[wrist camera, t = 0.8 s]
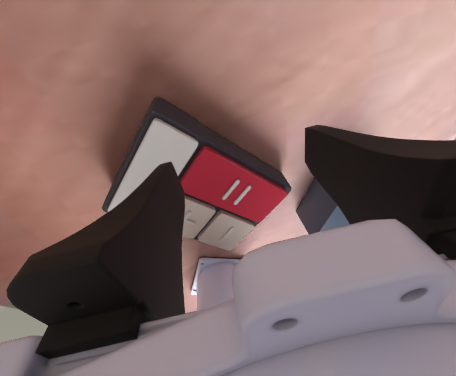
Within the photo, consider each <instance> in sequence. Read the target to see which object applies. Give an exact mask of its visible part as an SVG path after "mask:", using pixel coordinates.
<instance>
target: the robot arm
mask: <svg viewBox="0 0 456 376" xmlns="http://www.w3.org/2000/svg"><path fill="white" fill-rule="evenodd" d="M305 163H306V165H307V166H308V168H309V170H310V172H311V173H312V175H313V176H314V178H315V179H316V180H317V181H318V182H319V184H320V185H321V186H322V187H323V189H324V190H325V191H326V192H327V193H328V195H329V196H330V197H331V198H332V199H333V201H334V202H335V203H336V204H337V206H338V207H339V208H340V210H341V211H342V213H343V214H344V216H345V217H346V219H347V221H348V222H349V224H350V225H346V226H342V227H338V228H334V229H330V230H325V231H321V232H317V233H313V234H309V235H304V236H300V237H296V238H292V239H287V240H283V241H279V242H275V243H271V244H267V245H265V246H262V247H260V248H258V249H255V250H253V251H250V252H248V253H247V254H246V255H245V256H244V257H243V258H242V259H224V258H200V259H199V262H198V266H197V270H196V274H195V278H194V282H193V285H192V289H191V294H192V295H197V311H194V312H190V313H185V307H184V294H183V277H182V234H183V224H184V214H185V195H184V190H183V187H182V185H181V182H180V180H179V178H178V175H177V173H176V171H175V168H174V166H173V164H172V161H171V162H167V163H163V164H160V165H159V166H157V167H156V168H155V169H154V170H153V172H152V173H151V174H150V175H149V176H148V177H147V178H146V179H145V180H144V181H143V182H142V183H141V184H140V185H139V186H138V187H137V188H136V189H135V190H134V191H133V192H132V193H131V194H130V195H129V196H128V197H127V198H125V199H124V200H123V201H122V202H121V203H119V204H118V205H117V206H116V207H114V208H113V209H112V210H111V211H109V212H108V213H106V214H105V215H103V216H102V217H100V218H99V219H97V220H96V221H95V222H93V223H91V224H90V225H88V226H87V227H85V228H83V229H82V230H80V231H78V232H76V233H75V234H73V235H71V236H69V237H67V238H66V239H64V240H62V241H60V242H58V243H56V244H54V245H52V246H50V247H48V248H46V249H44V250H42V251H39V252H37V253H35V254H33V255H31V256H30V257H29V258H28V260H27V261H26V262H25V264H24V265H23V266H22V268H21V269H20V271H19V272H18V273H17V275H16V276H15V277H14V279H13V280H12V281H11V283H10V284H9V286H8V288H7V297H8V299H9V300H10V301H11V303H12V304H13V305H14V306H16V307H17V308H18V309H20V310H21V311H23V312H25V313H27V314H29V315H30V316H32V317H34V318H36V319H37V320H39V321H41V322H43V323H45V324H46V325H48V328H47V329H46V332H45V334H44V336H28V337H23V338H19V339H15V340H11V341H6V342H2V343H0V376H456V140H450V141H431V140H407V139H396V138H386V137H378V136H372V135H366V134H361V133H356V132H351V131H346V130H342V129H337V128H333V127H328V126H322V125H315V126H311V127H307V128H305Z"/></svg>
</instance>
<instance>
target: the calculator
mask: <svg viewBox="0 0 456 376" xmlns="http://www.w3.org/2000/svg"><path fill="white" fill-rule="evenodd" d="M171 161H172V164H173V166H174V168H175V171H176V173H177V175H178V178H179V180H180V182H181V185H182V187H183V190H184V195H185V214H184V224H183V234H182V236H183V237H186V238H189V239H195V240H198V241H199V242H202V243H206V244H209V245H212V246H216V247H219V248H222V249H225V250H229V251H231V250H233V249H234V248H235V247H236V246H237V245H238V244H239V243H240V242H241V241H242V240H243V239H244V238H245V237H246V236H247V235H248V234H249V233H250V232H251V231H252V230H253V229H254V228H255V226H256V225H257V224H258V223H259V222H261V221H262V220H263V219H264V218H265V217H266V216H267V215H268V214H269V213H270V212H271V211H272V210H273V209H274V208H275V207H276V206H277V205H278V204H279V203H280V202H281V201H282V200H283V199H284V198H285V197H286V196H287V195H288V193H289V192H290V191H291V186H290V185H289V183H288V182H287V180H286V179H285V177H284V176H283V174H282V173H281V172H280V171H278V170H277V169H275V168H273V167H272V166H270V165H268V164H267V163H265V162H263V161H262V160H260V159H258V158H257V157H255V156H253V155H252V154H250V153H248V152H247V151H245V150H243V149H242V148H240V147H238V146H237V145H235V144H233V143H232V142H230V141H228V140H227V139H225V138H223V137H222V136H220V135H218V134H217V133H215V132H213V131H212V130H210V129H208V128H207V127H205V126H204V125H203V124H201V123H200V122H199V121H198V120H197V119H195V118H194V117H192V116H190V115H189V114H187V113H186V112H184V111H182V110H181V109H179V108H177V107H176V106H174V105H172V104H171V103H169V102H167V101H166V100H164V99H162V98H160V97H156V98H154V100H153V102H152V104H151V106H150V108H149V110H148V112H147V114H146V116H145V118H144V120H143V122H142V124H141V126H140V128H139V130H138V132H137V134H136V136H135V139H134V141H133V143H132V145H131V147H130V149H129V151H128V153H127V155H126V157H125V159H124V161H123V163H122V165H121V167H120V169H119V171H118V173H117V175H116V177H115V180H114V182H113V184H112V186H111V188H110V190H109V193H108V195H107V197H106V199H105V202H104V204H103V207H102V209H103V211H105V212H107V213H108V212H109V211H111V210H112V209H113V208H114V207H116V206H117V205H118V204H119V203H121V202H122V201H123V200H124V199H125V198H127V197H128V196H129V195H130V194H131V193H132V192H133V191H134V190H135V189H136V188H137V187H138V186H139V185H140V184H141V183H142V182H143V181H144V180H145V179H146V178H147V177H148V176H149V175H150V174H151V173H152V172H153V170H154V169H155V168H156V167H157V166H159V165H160V164H163V163H167V162H171Z"/></svg>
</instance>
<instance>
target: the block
mask: <svg viewBox="0 0 456 376" xmlns="http://www.w3.org/2000/svg"><path fill="white" fill-rule="evenodd" d="M296 212H297V214H298V216H299V218H300V219H301V221H302V223H303V225H304V226H305V228H306V230H307V232H308V234H313V233H317V232H321V231H325V230H330V229H334V228H338V227H342V226H346V225H350V224H349V222H348V221H347V219H346V217H345V216H344V214H343V213H342V211H341V210H340V208H339V207H338V206H337V204H336V203H335V202H334V201H333V199H332V198H331V197H330V196H329V195H328V193H327V192H326V191H325V190H324V189H323V187H322V186H321V185H320V184H319V182H318V181H317V180H316V179H315V178H314V180H313V182H312V184H311V186H310V187H309V189H308V191H307V193H306V195H305V197H304V198H303V200H302V202H301V204H300V206H299V207H298V209H297V211H296Z"/></svg>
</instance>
